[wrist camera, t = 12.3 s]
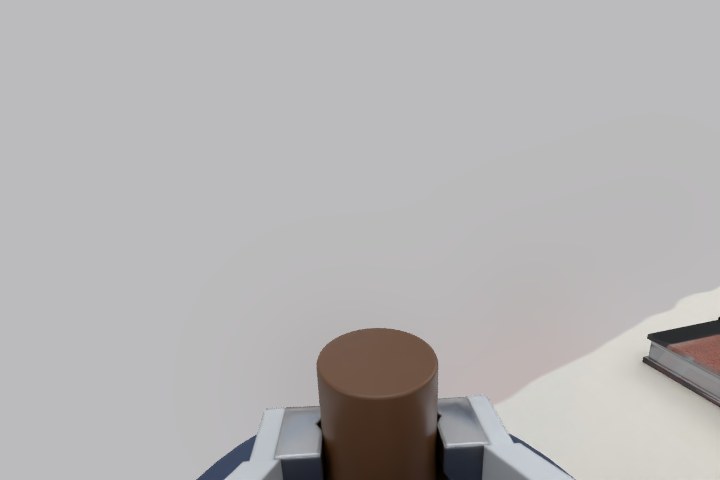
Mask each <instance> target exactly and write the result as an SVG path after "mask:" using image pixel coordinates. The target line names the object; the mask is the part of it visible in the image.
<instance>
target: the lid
mask: <svg viewBox="0 0 720 480" xmlns="http://www.w3.org/2000/svg"><path fill="white" fill-rule="evenodd" d="M317 377H318V390H319V403H320V415H321V427H322V433H323V445H324V457H325V459H324V464H325V471H326V480H436V452H437V400H438V397H437V396H438V360H437V357H436V354H435V353H434V350H433V349H432V348H431V347H430V346H429V345H428V344H427V343H426V342H425V341H423V340H422V339H420V338H419V337H417V336H415V335H412V334H410V333H407V332H403V331H400V330H394V329H386V328H372V329H362V330H357V331H353V332H350V333H346V334H344V335H341V336H339V337H338V338H336V339H334V340H332V341H331V342H330V343H328V344H327V345H326V346H325V347H324V348H323V350H322V351H321V352H320V355H319V357H318V360H317ZM508 434H509V433H508ZM509 435H510V437H511V439H512V441H513V443H521V444H522V445H524V446H525V447H527V448H528V449H530V450H531V451H533V452H534V453H536V454H537V455H539V456H540V457H542V458H543V459H545V460H546V461H548V462H549V463H551V464H552V465H554V466H555V467H557V468H558V469H560V470H562V471H563V472H565V471H564V470H563V469H561V468H560V467H559V466H558V465H556V464H555V463H554V462H553V461H551V460H550V459H549V458H547V457H546V456H544V455H543V454H541V453H540V452H538V451H537V450H535V449H534V448H532V447H531V446H529V445H528V444H526V443H525V442H523V441H522V440H520V439H518V438H516V437H514V436H513V435H511V434H509ZM256 436H257V435H255V436H253V437H252V438H250V439H249V440H247V441H245V442H244V443H242V444H240V445H239V446H237V447H236V448H235V449H233V450H232V451H231V452H229V453H228V454H227V455H226V456H224V457H223V458H221V459H220V460H219V461H217V462H216V463H215V464H214V465H213V466H211V467H210V468H209V469H208V470H207V471H206V472H205V473H204V474H202V475H201V476H200V477H199V478H198V479H197V480H224V479H225V478H226V477H228V476H229V475H230V474H231V473H232V472H233V471H234V470H235V469H236V468H237V467H238V466H239V465H240V464H241V463H242V462H246V461H250V457H251V454H252V450H253V447H254V443H255V440H256ZM565 473H566V474H568V473H567V472H565ZM568 475H569V474H568ZM569 476H570V475H569ZM571 477H572V476H571ZM572 478H573V477H572Z"/></svg>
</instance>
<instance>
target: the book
mask: <svg viewBox="0 0 720 480" xmlns="http://www.w3.org/2000/svg"><path fill="white" fill-rule="evenodd" d="M647 339H649V340H651V341H652V342H651V347H650V352H649V356H646V357H643V362H645V363H646V364H648V365H650V366H651V367H653V368H655V369H657V370H658V371H660V372H662V373H663V374H665V375H667V376H668V377H670V378H672V379H674V380H675V381H677V382H679V383H680V384H682V385H684V386H685V387H687V388H689V389H691V390H692V391H694V392H696V393H697V394H699V395H701V396H702V397H704V398H706V399H708V400H709V401H711V402H713V403H714V404H716V405H718V406H720V317H719V318H718V320H715V321H711V322H706V323H701V324H696V325H691V326H686V327H681V328H676V329H671V330H666V331H662V332H657V333H652V334H648V337H647Z"/></svg>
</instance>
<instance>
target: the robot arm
mask: <svg viewBox="0 0 720 480" xmlns="http://www.w3.org/2000/svg"><path fill="white" fill-rule="evenodd" d="M324 459H325V457H324V445H323V433H322V427H321V415H320V406H310V407H287V408H270V409H266V410H265V411H264V413H263V416H262V419H261V423H260V426H259V429H258V433H257V436H256V440H255V443H254V447H253V450H252V454H251V457H250V461H246V462H242V463H241V464H240V465H239V466H238V467H237V468H236V469H235V470H234V471H233V472H232V473H231V474H230V475H229V476H228V477H226V478H225V479H224V480H326V471H325V464H324ZM436 480H575V479H574V478H572V477H571V476H569V475H568V474H566V473H565V472H563V471H562V470H560V469H558V468H557V467H555V466H554V465H552V464H551V463H549V462H548V461H546V460H545V459H543V458H542V457H540V456H539V455H537V454H536V453H534V452H533V451H531V450H530V449H528V448H527V447H525V446H524V445H522V444H521V443H513V441H512V439H511V437H510V435H509V434H508V432H507V430H506V428H505V427H504V425H503V423H502V421H501V419H500V418H499V416H498V414H497V412H496V411H495V409H494V407H493V405H492V403H491V402H490V400H489V398H488V397H487V396H486V395H475V396H466V397H457V398H443V399H438V400H437V452H436Z"/></svg>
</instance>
